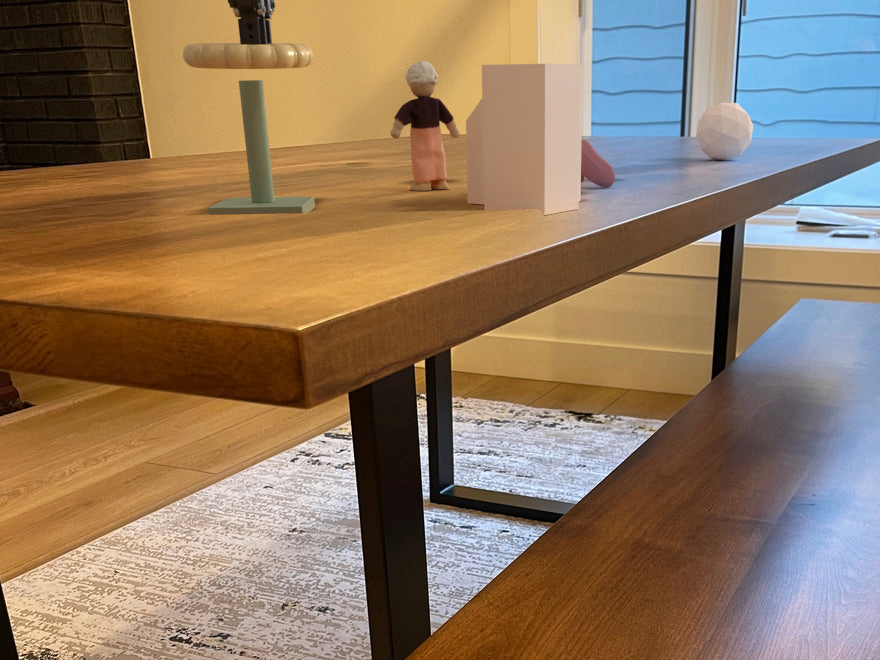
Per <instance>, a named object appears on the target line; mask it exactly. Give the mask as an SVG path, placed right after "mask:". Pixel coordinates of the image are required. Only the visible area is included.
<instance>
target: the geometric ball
mask: <svg viewBox="0 0 880 660" xmlns="http://www.w3.org/2000/svg"><path fill="white" fill-rule="evenodd" d="M754 127H755V126H754V124H753V122H752V119H751V117H750V115H749V113H748V112H747V111H746V110H745V109H744V108H743V107H742V106H741V105H740V104H739V103H738V102H719V103H717V104H715V105H711V106H709V107H707V109H706V110H705V111H704V112H703V114H702V115H701V116H700V118H699V120H698V121H697V128H696V133H695V139H696V142H697V144H698V146H699V148H700V150H701V151H702V152H703V153H704V154H705V155H707V157H708V158H710V159H711V160H712V161H730V160H733V159H735V158H738V157H741V156H742V154H743V153H744V152H745V151H746V149H748V147H749V146H750V145H751V142H752V138H753V132H754Z"/></svg>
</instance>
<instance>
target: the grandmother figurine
mask: <svg viewBox="0 0 880 660" xmlns="http://www.w3.org/2000/svg"><path fill="white" fill-rule="evenodd" d="M438 78H439V74H438V73H437V71H436V69H435V67H434V66H433V64H432V63H430V62H429V61H425V60H419V61H416V62H414V63H413V64H412V65H410V66H409V67H408V69H407V72H406V74H405V80H406V84H407V86H408V87H409V88H410V91H411V93H412V94H413V95H414V96H415V97H416V98H413V99H410V100H408V101H406V102H405V103H404V104H402V105H401V107H400V108H399V109H398V110H397V112H396V114H395V115H394V122H393V125H392V126H393V127H392V129H391V130H390V136H391V138H393V139H399V138H400V137H401V134H402V130H404V127H405V126H408V125H410V129H409V130H410V131H409V137H410V139H409V140H410V155H411V156H410V158H411V169H412V178H413V182H412V183H411V184H410V186H409V190H410V191H415V192H429V191H432V190H449V189H450V185H449V184H448V183H447V181H446V179H448V175H447V174H448V173H447V163H446V162H447V161H446V154H445V153H446V152H445V148H444V142H443V136H442V131H441V130H442V129H441V126H440V122H441V124H444V125H445V128H446V129H447V130H448V131H449V136H450V137H451V138H452V139H457V138H459V137H460V131H459V128H457V124H456V121H455V120H454V116H453V114H451V113H452V112H450V110H449V109H448V108H447V106H446V105H445V104H444V103H443V101H442V100H441V99H440V98H437V97H432V94H433V93H434V91H435V88H436V87H435V86H437V85H438V84H439V82H438ZM428 182H430V185H429V183H428Z"/></svg>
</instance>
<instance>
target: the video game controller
mask: <svg viewBox="0 0 880 660" xmlns="http://www.w3.org/2000/svg"><path fill="white" fill-rule="evenodd" d="M614 170H615V169H613V167H612V165H611V164H610V163H609V162H608V161H607V160H605V159H604V158H603V157H602V156H600V154H599V153H598V152H597V151H596V150H595V148H594V147H593V146H592V144H591V143H590V142H589V141H588V140H587V139H584V137H583V136H582V137H581V184H582V183H583V182H584V181H585V179H587V180H588V181H590V182H591V183H592V184H593V185H594V184H595V185H596V186H599V187H601V188H610V187H612V186H613V185H614V183H615V181H616V173H615V171H614Z"/></svg>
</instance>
